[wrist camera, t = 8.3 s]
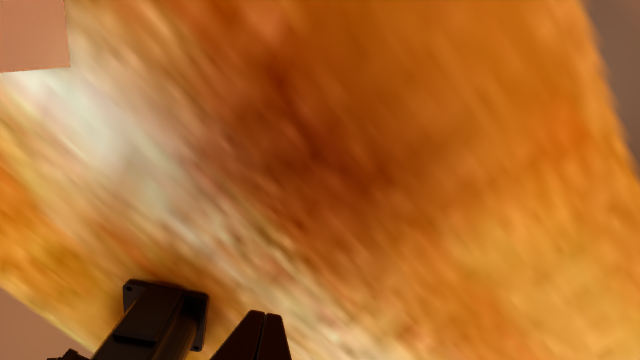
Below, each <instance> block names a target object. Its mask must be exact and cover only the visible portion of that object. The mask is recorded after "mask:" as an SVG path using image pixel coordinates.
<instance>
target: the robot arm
mask: <svg viewBox="0 0 640 360" xmlns="http://www.w3.org/2000/svg"><path fill="white" fill-rule="evenodd" d="M201 300H202V301H201ZM208 301H209V299H208V297H207V296H206V295H204V294H200V293H195V292H190V291H185V290H179V289H174V288H169V287H164V286H159V285H154V284H148V283H143V282H138V281H133V280H129V281H127V282H126V283H125V284H124V285H123V304H124V315H123V316H122V318H121V319H120V320H119V321H118V323H117V324H116V325H115V327H114V328H113V329H112V331H111V332H110V333H109V335H108V336H107V337H106V339H105V340H104V341H103V343H102V344H101V345H100V346H99V348H98V349H97V350H96V352H95V353H94V354H93V356H92V357H91V358H90V359H88V358H85V357H84V356H81V355H79V354H77V353H78V352H77V351H75V350H73V349H71V348H70V349H69V350H68V351H67V352H66V353H65V355H63V357H62V358H61V357H59V358H48V359H47V360H185V359H186V357H187V355H188V352H189V351H195V352H199V351H201V350H202V348H203V345H204V337H205V328H206V319H207V310H208ZM264 318H265V319H264ZM261 331H262V332H261ZM255 357H256V358H255ZM210 360H292V359H291V354H290V350H289V346H288V342H287V337H286V333H285V329H284V325H283V321H282V317H281V316H280V315H278V314H272V313H267V314H266V315H265V313H264V312H262V311H257V310H250V311H249V312H248V313H247V314H246V316H245V317H244V318H243V319H242V320H241V322H240V323H239V324H238V325H237V327H236V328H235V329H234V330H233V332H232V333H231V334H230V335H229V337H228V338H227V339H226V340H225V341H224V343H223V344H222V345H221V346H220V348H219V349H218V350H217V351H216V353H215V354H214V355H213V356H212V357H211V359H210Z"/></svg>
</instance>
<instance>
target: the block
mask: <svg viewBox="0 0 640 360" xmlns="http://www.w3.org/2000/svg"><path fill="white" fill-rule="evenodd" d="M62 67H70V58H69V48H68V39H67V29H66V20H65V11H64V1H63V0H0V73H3V72H15V71H27V70H38V69H50V68H62Z"/></svg>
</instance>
